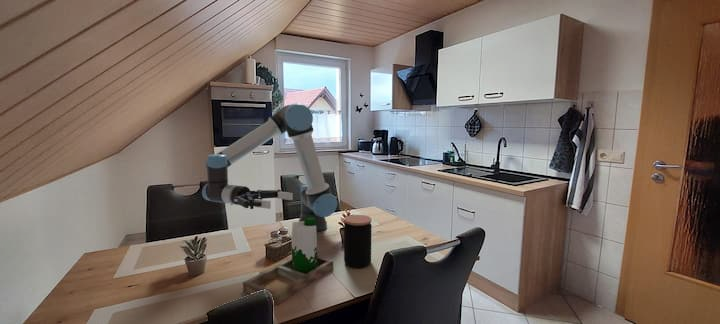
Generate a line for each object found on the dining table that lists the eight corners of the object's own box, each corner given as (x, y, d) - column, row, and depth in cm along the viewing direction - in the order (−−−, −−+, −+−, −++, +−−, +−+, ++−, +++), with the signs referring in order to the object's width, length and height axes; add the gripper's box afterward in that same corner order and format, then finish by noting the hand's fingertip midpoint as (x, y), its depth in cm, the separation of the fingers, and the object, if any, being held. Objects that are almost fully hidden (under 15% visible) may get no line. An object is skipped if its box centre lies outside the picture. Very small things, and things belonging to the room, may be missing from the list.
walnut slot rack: (303, 258, 122) (303, 251, 122) (333, 268, 114) (333, 260, 114) (243, 291, 98) (243, 282, 98) (275, 305, 90) (275, 296, 90)
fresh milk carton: (318, 275, 109) (317, 221, 107) (292, 278, 107) (291, 223, 104) (315, 264, 117) (314, 214, 115) (291, 267, 115) (290, 216, 113)
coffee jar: (375, 261, 121) (376, 217, 119) (362, 271, 112) (363, 225, 110) (353, 255, 126) (353, 213, 124) (338, 265, 117) (338, 220, 115)
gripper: (258, 197, 132) (300, 202, 124) (211, 212, 109) (259, 219, 101) (258, 180, 131) (299, 184, 123) (210, 192, 108) (258, 197, 100)
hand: (281, 200), depth 112 cm, fingers open, 13 cm apart
